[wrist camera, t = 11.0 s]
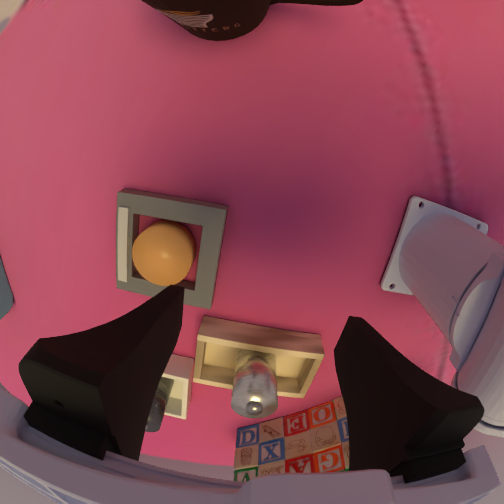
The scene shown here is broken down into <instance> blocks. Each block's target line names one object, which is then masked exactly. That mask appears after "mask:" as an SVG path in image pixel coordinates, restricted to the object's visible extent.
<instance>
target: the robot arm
mask: <svg viewBox="0 0 504 504" xmlns="http://www.w3.org/2000/svg"><path fill="white" fill-rule="evenodd" d="M420 202H422V205H421V207H419V203H420ZM477 225H478V227H477ZM487 232H488V225H487V224H486V223H484V222H482V221H479V220H477V219H475V218H472V217H470V216H468V215H465V214H463V213H460V212H458V211H455V210H453V209H450V208H447V207H445V206H442V205H440V204H437V203H434V202H432V201H429V200H426V199H423V198H420V197H418V196H413V197H411V198H410V200H409V204H408V207H407V210H406V213H405V217H404V220H403V223H402V226H401V229H400V232H399V235H398V238H397V241H396V244H395V246H394V249H393V252H392V255H391V257H390V260H389V263H388V265H387V268H386V271H385V273H384V276H383V278H382V281H381V284H380V285H381V288H382V289H383V290H385V291H391V292H396V293H402V294H408V295H414V296H415V297H416V298H417V300H418V301H419V302H420V303H421V305H422V306H423V307H424V309H425V310H426V311H427V313H428V314H429V315H430V317H431V318H432V319H433V321H434V322H435V323H436V325H437V326H438V327H439V329H440V330H441V331H442V333H443V334H444V336H445V337H446V338H447V340H448V341H449V343H450V344H451V345H452V353H451V355H450V358H449V359H450V361H451V362H452V364H453V365H454V367H455V368H456V370H457V372H456V373H455V375H454V377H453V379H452V382H451V386H449V385H447V384H445V383H443V382H441V381H439V380H438V379H436V378H434V377H433V376H431V375H429V374H428V373H426V372H425V371H423V370H422V369H420V368H419V367H417V366H416V365H415V364H413V363H412V362H411V361H409V360H408V359H407V358H406V357H404V356H403V355H402V354H401V353H400V352H399V351H397V350H396V349H395V348H394V347H393V346H392V345H391V344H390V343H389V342H388V341H387V340H386V339H384V338H383V337H382V336H381V335H380V334H379V333H378V332H377V331H376V330H375V329H374V328H373V327H372V326H371V325H370V324H369V323H367V322H366V321H365V320H364V319H363V318H361V317H353V316H349V318H348V320H347V322H346V325H345V327H344V329H343V332H342V334H341V336H340V338H339V340H338V343H337V345H336V347H335V349H334V357H335V367H336V372H337V377H338V381H339V385H340V389H341V393H342V397H343V401H344V405H345V409H346V415H347V423H348V435H349V471H345V472H326V473H272V474H267V475H262V476H257V477H254V478H252V479H251V480H249V481H248V482H237V481H229V480H222V479H215V478H208V477H202V476H197V475H192V474H187V473H182V472H178V471H173V470H169V469H165V468H161V467H157V466H154V465H150V464H146V463H143V462H139V461H138V460H139V455H140V450H141V446H142V441H143V437H144V433H145V429H146V425H147V421H148V417H149V413H150V410H151V406H152V403H153V399H154V396H155V393H156V390H157V387H158V384H159V382H160V380H161V377H162V375H163V373H164V371H165V368H166V366H167V364H168V362H169V359H170V357H171V355H172V353H173V350H174V348H175V346H176V343H177V340H178V337H179V333H180V330H181V326H182V315H183V303H184V291H185V287H181V286H176V285H172V284H171V285H169V286H168V287H166V288H165V289H163V290H162V291H161V292H159V293H158V294H157V295H155V296H154V297H152V298H151V299H149V300H148V301H146V302H145V303H143V304H142V305H140V306H139V307H137V308H135V309H134V310H132V311H130V312H129V313H127V314H125V315H123V316H121V317H119V318H117V319H115V320H113V321H110V322H108V323H106V324H103V325H100V326H97V327H94V328H91V329H89V330H85V331H82V332H78V333H73V334H69V335H64V336H57V337H49V338H40V339H39V340H38V341H37V342H36V343H35V344H34V345H33V346H32V348H31V349H30V350H29V351H28V352H27V354H26V355H25V356H24V357H23V359H22V360H21V361H20V363H19V373H20V376H21V378H22V381H23V383H24V385H25V387H26V389H27V391H28V393H29V395H30V397H31V399H32V400H33V401H32V403H31V405H30V406H29V407H28V406H27V405H26V404H25V403H24V402H23V401H21V400H20V399H18V398H17V397H15V396H13V395H12V394H10V393H9V392H7V391H5V390H4V389H1V388H0V466H1V467H2V468H3V469H5V470H6V471H8V472H9V473H10V474H12V475H13V476H15V477H16V478H18V479H19V480H21V481H22V482H24V483H25V484H27V485H28V486H30V487H31V488H33V489H35V490H37V491H38V492H40V493H41V494H43V495H44V496H46V497H48V498H50V499H51V500H53V501H55V502H57V503H59V504H475V503H476V502H478V501H479V500H481V499H483V498H484V497H485V496H487V495H488V494H490V493H491V492H492V491H494V490H495V489H496V488H498V487H499V486H500V485H501V483H500V481H499V478H498V476H497V473H496V471H495V468H494V466H493V464H492V461H491V459H490V457H489V455H488V452H487V450H486V448H485V446H484V445H482V446H480V447H477V448H474V449H471V450H468V451H467V452H465V453H463V452H462V450H461V448H463V447H464V445H465V444H464V442H463V438H464V437H465V436H466V435H467V434H468V433H469V432H470V431H471V430H472V429H473V428H474V429H475V430H477V431H479V432H481V433H484V434H487V435H493V436H499V437H503V438H504V246H503V245H501V244H500V243H498V242H497V241H495V240H494V239H492V238H490V237H489V236H487ZM391 284H393V285H392V286H391V287H389V286H390V285H391Z"/></svg>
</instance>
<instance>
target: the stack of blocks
mask: <svg viewBox="0 0 504 504" xmlns="http://www.w3.org/2000/svg"><path fill="white" fill-rule="evenodd" d="M234 470H235V471H234V481H237V482H248V481H249V480H251V479H252V478H254V477H257V476H262V475H267V474H272V473H326V472H345V471H349V435H348V423H347V415H346V409H345V405H344V401H343V397H342V396H340V397H338V398H335V399H333V400H332V401H329V402H326V403H324V404H321V405H318V406H315V407H312V408H309V409H308V410H304V411H301V412H298V413H295V414H291V415H288V416H285V417H281V418H277V419H274V420H270V421H266V422H263V423H259V424H254V425H250V426H247V427H243V428H238V429H237V439H236V450H235V459H234Z"/></svg>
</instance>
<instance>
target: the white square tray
mask: <svg viewBox="0 0 504 504" xmlns="http://www.w3.org/2000/svg"><path fill="white" fill-rule="evenodd" d="M193 366H194V359H193V358H188V357H184V356H179V355H175V354H172V355H171V357H170V359H169V362H168V364H167V366H166V368H165V371H164V373H163V375H162V377H166V378H170V379H174V384H173V387H172V390H171V393H170V397H169V400H168V403H167V406H166V409H165V413H164V414H165V415H169V416H173V417H177V418H181V419H186V417H187V413H188V409H189V405H190V401H191V388H192V377H193Z"/></svg>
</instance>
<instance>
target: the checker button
mask: <svg viewBox="0 0 504 504" xmlns="http://www.w3.org/2000/svg"><path fill="white" fill-rule="evenodd" d="M195 256H196V244H195V241H194V238H193V236H192V234H191V233H190V232H189V230H188V229H187V228H186V227H184V226H183V225H182V224H180V223H178V222H175V221H172V220H160V221H157V222H155V223H153V224H151V225H150V226H149V227H148V228H147V229H146V230H144V231H143V232H142V233H141V234H140V235H139V236H138V237H137V238H136V240H135V242H134V244H133V248H132V258H133V262H134V265H135V267H136V269H137V270H138V272H139V273H140V274H141V275H142V276H143V277H144V278H145V279H146V280H148V281H149V282H151V283H153V284H156V285H160V286H169V285H171V284H172V285H174V284H177V283H179V282H180V281H181V280H183V279H184V278H185V276H186V275H187V273H188V271H189V269H190V267H191V265H192V263H193V261H194V259H195Z"/></svg>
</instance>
